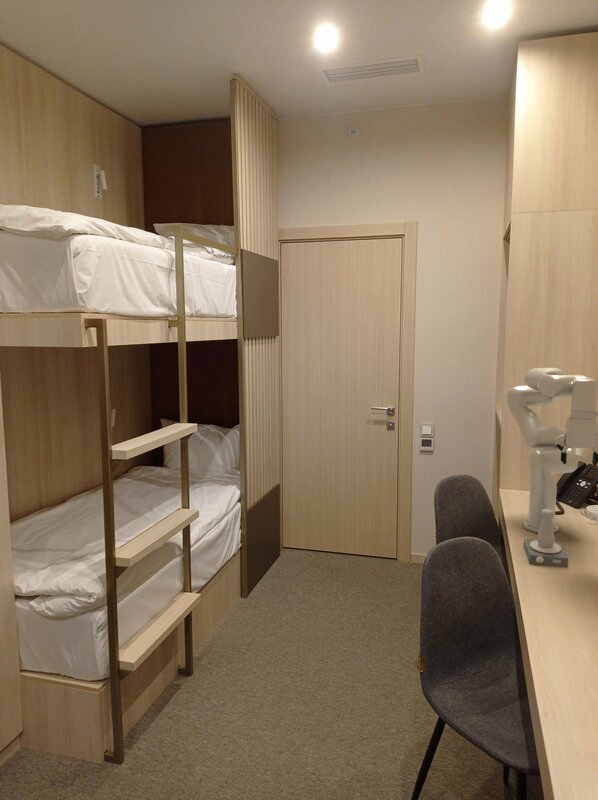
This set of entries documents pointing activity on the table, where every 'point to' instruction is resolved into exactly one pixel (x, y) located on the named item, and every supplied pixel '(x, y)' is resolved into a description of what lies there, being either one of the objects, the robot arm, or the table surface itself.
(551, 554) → the scale
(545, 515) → the salt shaker
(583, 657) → the table surface
